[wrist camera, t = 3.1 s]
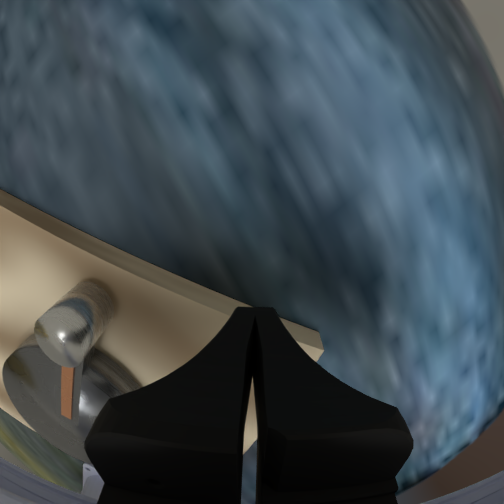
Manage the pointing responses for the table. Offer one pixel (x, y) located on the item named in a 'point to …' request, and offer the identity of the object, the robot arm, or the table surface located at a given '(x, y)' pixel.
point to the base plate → (121, 293)
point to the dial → (66, 370)
